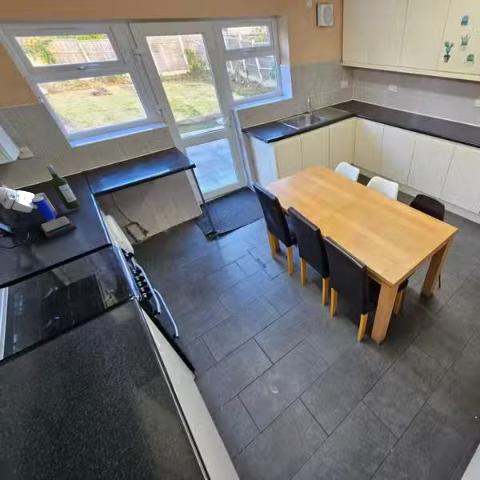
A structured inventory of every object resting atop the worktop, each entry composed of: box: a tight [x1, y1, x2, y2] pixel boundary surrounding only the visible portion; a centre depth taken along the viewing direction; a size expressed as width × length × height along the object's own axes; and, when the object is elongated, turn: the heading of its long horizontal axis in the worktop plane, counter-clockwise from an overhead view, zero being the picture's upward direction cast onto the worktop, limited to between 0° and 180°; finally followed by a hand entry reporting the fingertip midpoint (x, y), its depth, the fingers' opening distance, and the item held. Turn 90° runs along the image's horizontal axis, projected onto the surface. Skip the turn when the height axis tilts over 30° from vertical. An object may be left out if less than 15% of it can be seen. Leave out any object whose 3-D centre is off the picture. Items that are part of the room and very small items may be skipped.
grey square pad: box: [40, 215, 71, 233], centre depth 168 cm, size 12×12×1 cm
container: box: [34, 192, 58, 216], centre depth 178 cm, size 5×5×15 cm
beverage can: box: [31, 196, 57, 222], centre depth 160 cm, size 5×5×15 cm
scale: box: [40, 216, 78, 239], centre depth 169 cm, size 14×16×3 cm
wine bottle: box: [45, 164, 81, 210], centre depth 181 cm, size 8×8×30 cm
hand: (43, 206), depth 160 cm, fingers closed on beverage can, 3 cm apart
